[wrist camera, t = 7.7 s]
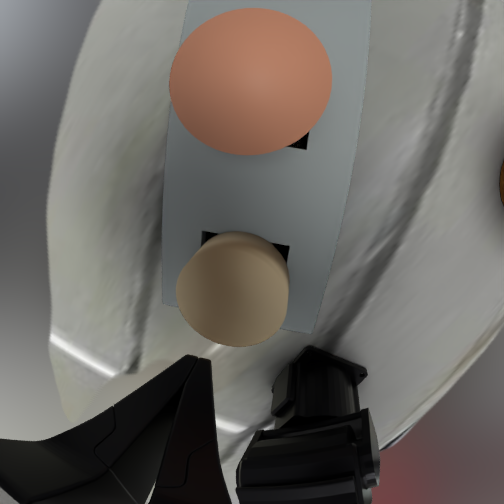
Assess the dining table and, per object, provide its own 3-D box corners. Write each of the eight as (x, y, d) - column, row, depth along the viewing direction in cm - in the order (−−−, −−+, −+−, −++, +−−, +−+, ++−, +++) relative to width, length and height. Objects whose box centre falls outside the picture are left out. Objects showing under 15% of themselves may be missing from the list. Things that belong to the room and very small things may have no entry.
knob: (298, 215, 19) (297, 261, 12) (285, 285, 21) (276, 355, 14) (220, 202, 19) (176, 239, 12) (214, 272, 21) (176, 333, 14)
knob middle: (322, 68, 13) (339, 18, 6) (310, 155, 15) (319, 167, 8) (230, 58, 14) (182, 9, 7) (219, 142, 16) (161, 147, 9)
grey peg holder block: (357, -27, 11) (370, -64, 7) (310, 291, 21) (312, 334, 16) (229, -40, 12) (210, -76, 7) (190, 269, 21) (162, 303, 17)
